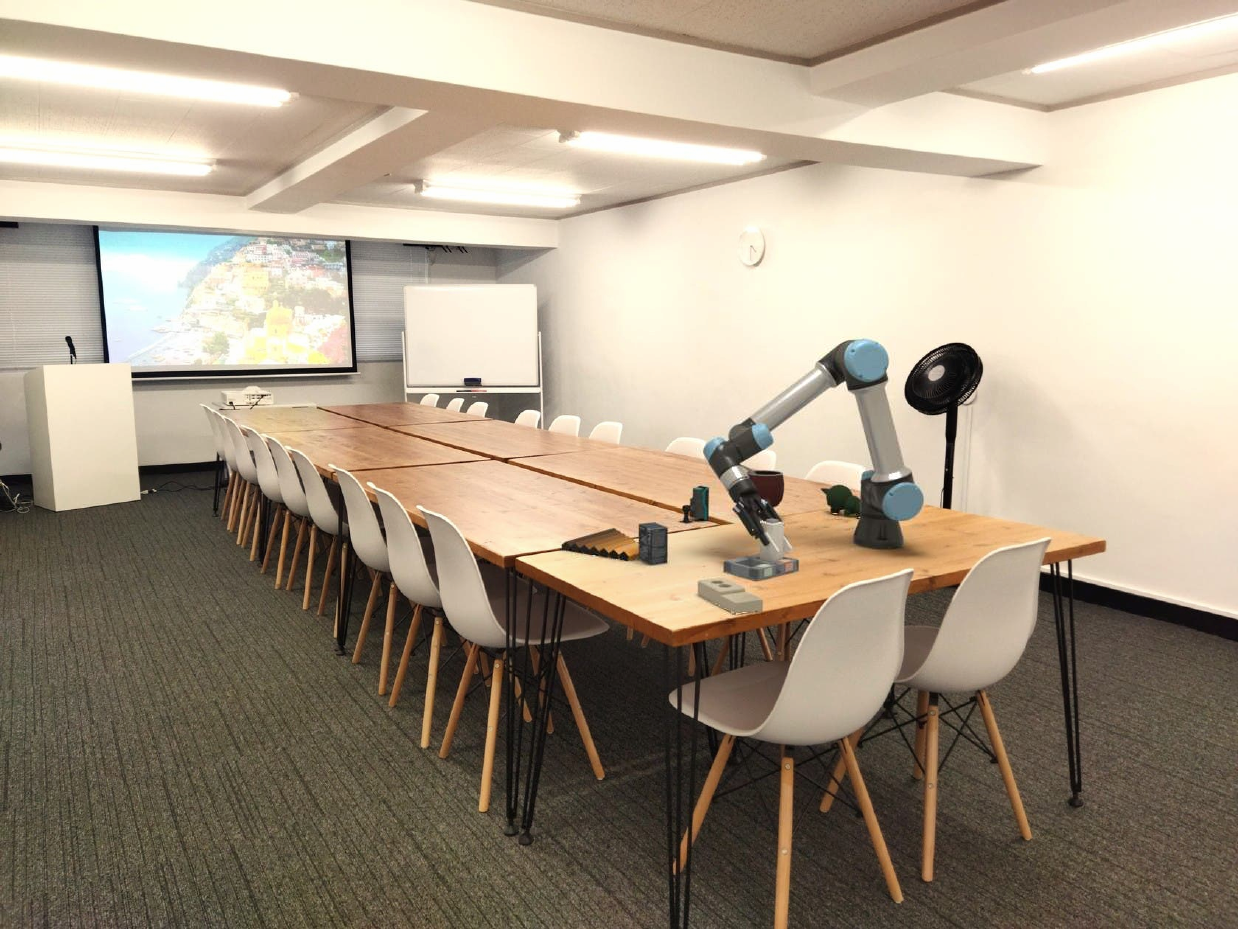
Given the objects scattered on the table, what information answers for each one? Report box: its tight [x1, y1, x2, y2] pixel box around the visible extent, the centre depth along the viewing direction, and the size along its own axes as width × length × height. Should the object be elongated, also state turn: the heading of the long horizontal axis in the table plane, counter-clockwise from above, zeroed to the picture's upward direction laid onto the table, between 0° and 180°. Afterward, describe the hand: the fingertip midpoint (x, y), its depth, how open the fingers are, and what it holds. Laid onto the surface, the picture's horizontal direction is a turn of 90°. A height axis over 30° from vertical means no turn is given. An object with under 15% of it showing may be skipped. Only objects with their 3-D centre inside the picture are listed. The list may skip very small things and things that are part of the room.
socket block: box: [723, 552, 800, 582], centre depth 233 cm, size 17×12×3 cm
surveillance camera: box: [678, 485, 710, 525], centre depth 302 cm, size 6×12×10 cm
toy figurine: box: [820, 469, 874, 518], centre depth 311 cm, size 9×19×25 cm
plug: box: [759, 519, 785, 562], centre depth 235 cm, size 4×4×13 cm
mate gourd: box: [741, 464, 785, 521], centre depth 303 cm, size 16×14×20 cm
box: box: [638, 521, 669, 566], centre depth 244 cm, size 8×6×11 cm
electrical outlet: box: [697, 577, 764, 615], centre depth 204 cm, size 7×4×18 cm
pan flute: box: [560, 527, 639, 562], centre depth 261 cm, size 25×3×25 cm
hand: (782, 552), depth 233 cm, fingers open, 5 cm apart
